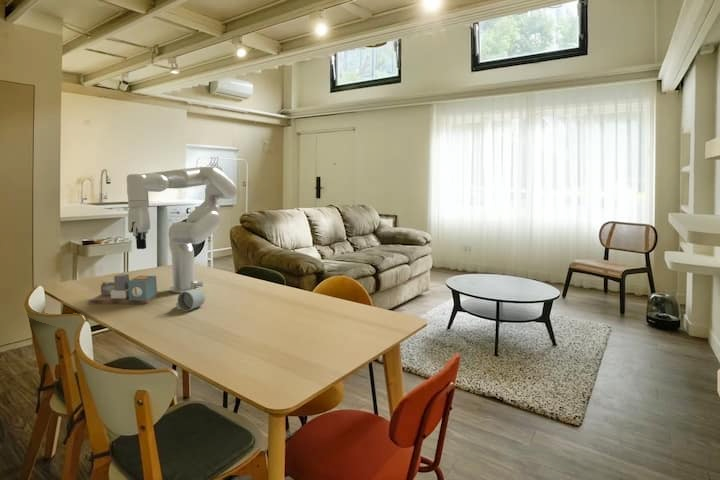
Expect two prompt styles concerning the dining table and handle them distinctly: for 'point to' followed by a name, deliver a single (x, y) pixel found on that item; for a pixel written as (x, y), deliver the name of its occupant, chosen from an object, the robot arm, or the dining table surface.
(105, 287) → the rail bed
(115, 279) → the grey stepped block
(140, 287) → the gauge cabinet
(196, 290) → the ceramic mug
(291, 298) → the dining table surface
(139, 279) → the button
